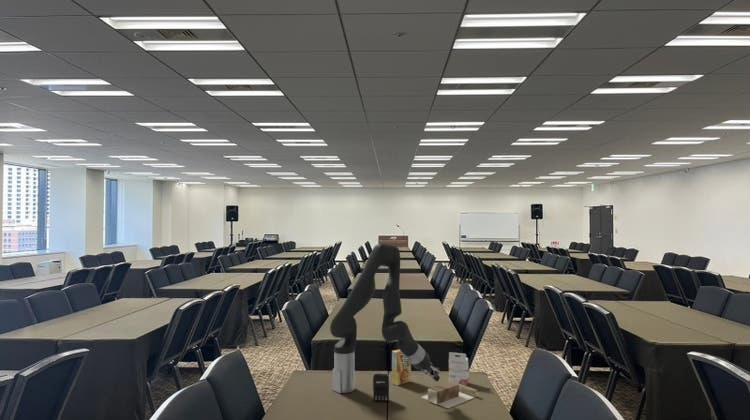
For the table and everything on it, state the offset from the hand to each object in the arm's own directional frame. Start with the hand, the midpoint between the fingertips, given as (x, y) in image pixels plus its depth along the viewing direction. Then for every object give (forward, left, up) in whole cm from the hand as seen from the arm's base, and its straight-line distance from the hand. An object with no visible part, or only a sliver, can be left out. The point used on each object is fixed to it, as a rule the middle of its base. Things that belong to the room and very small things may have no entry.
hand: (437, 379), depth 197 cm
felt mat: (+6, 0, -9) cm, 11 cm away
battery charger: (-18, +16, -10) cm, 26 cm away
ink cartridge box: (+24, +9, -10) cm, 28 cm away
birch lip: (+16, 0, -9) cm, 19 cm away
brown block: (-3, 0, -6) cm, 7 cm away
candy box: (+4, +27, -10) cm, 29 cm away
